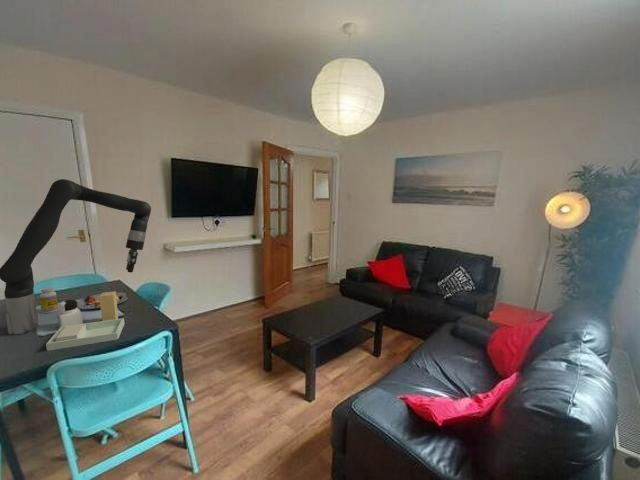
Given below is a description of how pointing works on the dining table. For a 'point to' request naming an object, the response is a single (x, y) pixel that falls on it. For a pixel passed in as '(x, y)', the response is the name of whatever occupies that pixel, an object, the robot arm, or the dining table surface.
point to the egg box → (72, 332)
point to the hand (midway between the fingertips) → (129, 271)
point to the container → (69, 313)
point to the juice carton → (108, 306)
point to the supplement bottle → (48, 300)
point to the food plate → (98, 300)
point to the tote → (90, 334)
